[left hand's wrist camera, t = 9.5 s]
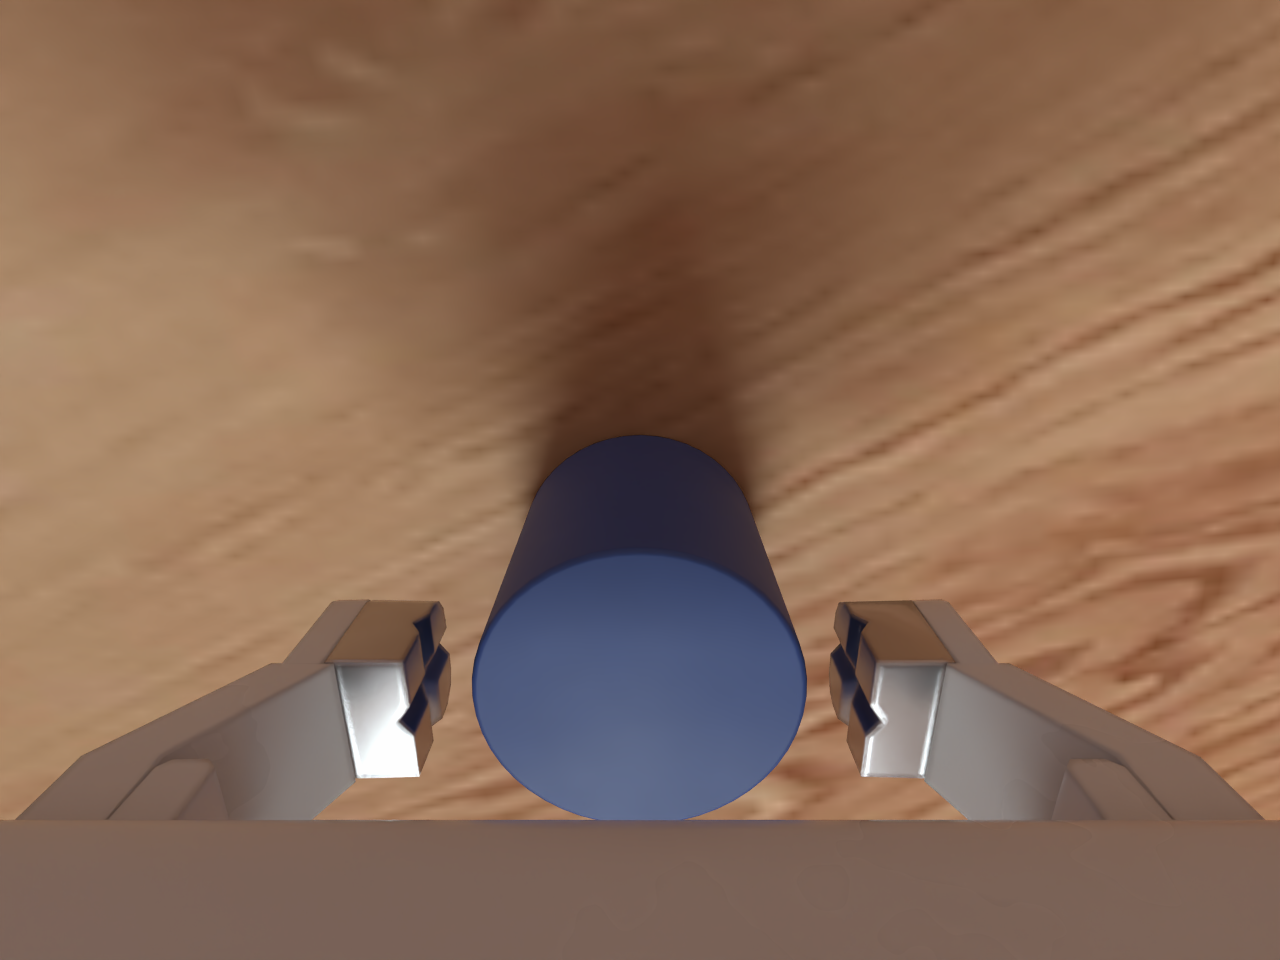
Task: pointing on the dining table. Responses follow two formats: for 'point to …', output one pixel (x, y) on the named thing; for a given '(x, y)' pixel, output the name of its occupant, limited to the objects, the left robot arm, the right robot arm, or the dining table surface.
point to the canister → (639, 640)
